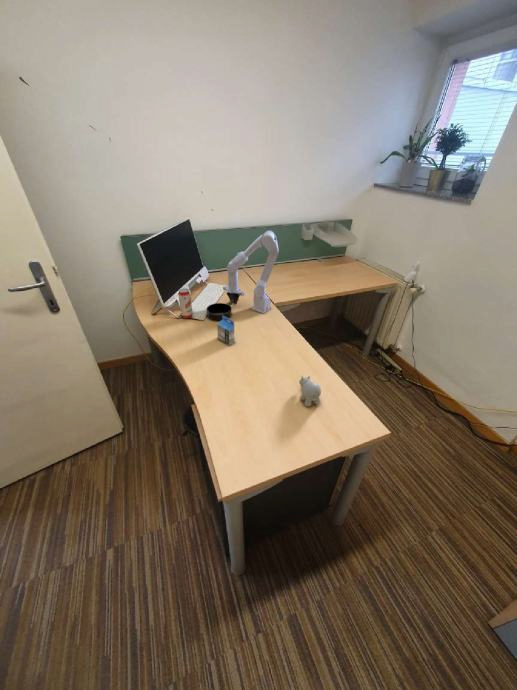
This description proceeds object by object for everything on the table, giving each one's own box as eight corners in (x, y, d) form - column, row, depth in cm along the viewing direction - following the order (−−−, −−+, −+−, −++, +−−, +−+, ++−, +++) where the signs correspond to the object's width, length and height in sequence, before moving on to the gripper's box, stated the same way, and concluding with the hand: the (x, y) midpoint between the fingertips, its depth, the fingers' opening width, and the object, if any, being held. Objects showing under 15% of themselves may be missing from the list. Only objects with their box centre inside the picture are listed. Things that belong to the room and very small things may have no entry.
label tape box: (217, 338, 138) (215, 317, 131) (223, 335, 140) (222, 314, 133) (229, 345, 133) (228, 324, 126) (235, 342, 136) (234, 321, 128)
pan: (246, 307, 166) (246, 301, 163) (220, 323, 150) (219, 317, 147) (228, 300, 172) (228, 295, 170) (201, 315, 156) (201, 309, 154)
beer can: (195, 315, 156) (192, 289, 147) (188, 320, 152) (184, 293, 142) (186, 312, 158) (182, 287, 149) (179, 317, 154) (175, 291, 144)
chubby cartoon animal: (308, 384, 113) (311, 368, 108) (322, 405, 104) (325, 389, 99) (292, 387, 111) (294, 371, 106) (304, 409, 102) (307, 393, 97)
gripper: (219, 281, 158) (220, 302, 166) (238, 287, 152) (239, 309, 160) (227, 277, 163) (227, 298, 171) (246, 283, 156) (246, 305, 164)
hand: (233, 303), depth 165 cm, fingers closed on pan, 2 cm apart
